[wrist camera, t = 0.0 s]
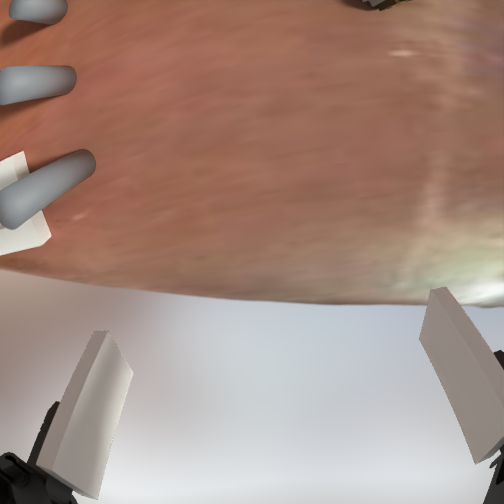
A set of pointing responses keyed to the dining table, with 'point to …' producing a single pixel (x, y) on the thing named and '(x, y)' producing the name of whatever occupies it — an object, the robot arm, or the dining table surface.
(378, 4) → the toy
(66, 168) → the tall dowel
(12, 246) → the block
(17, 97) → the medium dowel
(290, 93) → the dining table surface
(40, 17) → the short dowel
